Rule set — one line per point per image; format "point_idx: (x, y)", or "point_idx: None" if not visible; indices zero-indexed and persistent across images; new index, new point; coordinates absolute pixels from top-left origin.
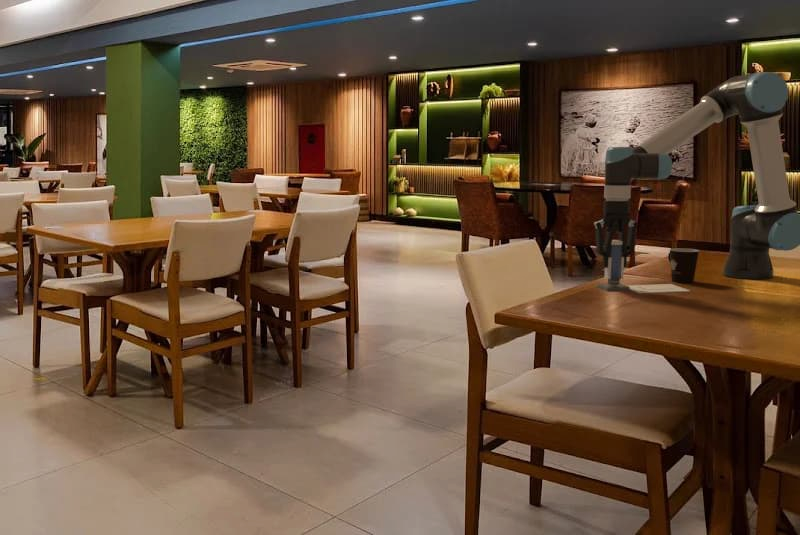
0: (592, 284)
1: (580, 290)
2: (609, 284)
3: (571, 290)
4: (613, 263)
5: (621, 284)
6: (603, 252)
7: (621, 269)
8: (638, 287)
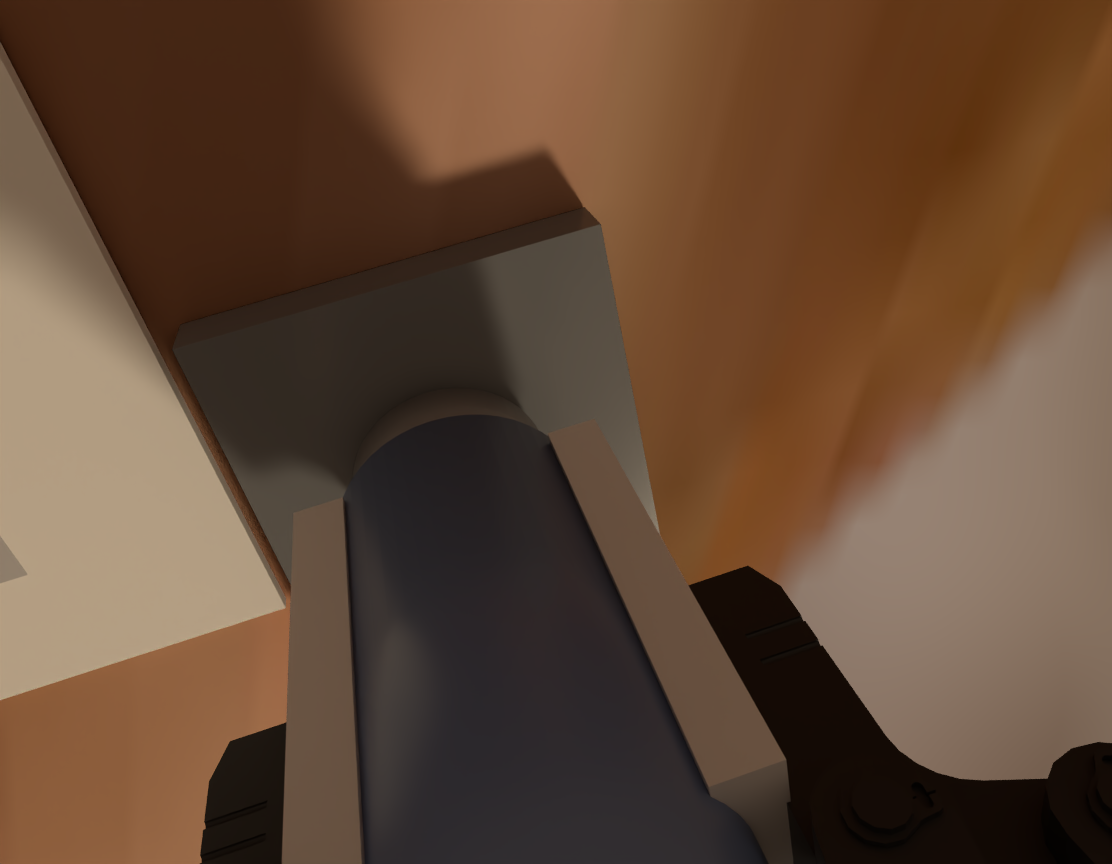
0: None
1: (962, 227)
2: None
3: (1080, 212)
4: (591, 646)
5: None
6: (1081, 855)
7: (341, 625)
8: (10, 519)
